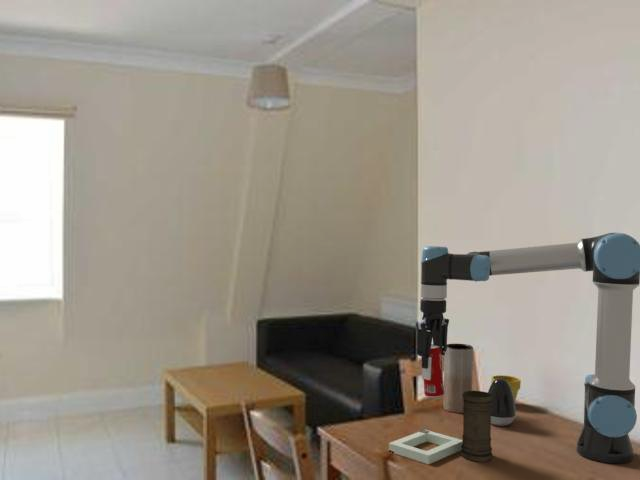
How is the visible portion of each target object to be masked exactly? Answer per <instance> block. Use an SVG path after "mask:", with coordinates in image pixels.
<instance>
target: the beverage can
mask: <svg viewBox="0 0 640 480" xmlns="http://www.w3.org/2000/svg"><path fill="white" fill-rule="evenodd" d="M429 357H431V380H427V379H422V381H423V392H424V393H423V394H424V396H425V397H426V398H431V399H432V398H434V399H436V398H440V397H442V396H444V371H443V360H442V358H443V357H441V349H440V347H439V346H434V345H433V343H432V344H431V350H430V356H429Z"/></svg>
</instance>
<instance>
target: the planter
mask: <svg viewBox="0 0 640 480" xmlns="http://www.w3.org/2000/svg"><path fill="white" fill-rule="evenodd" d="M443 358H444V359H443V386H444V394H443V402H442V403H443V404H442V405H443V406H442V407H443V410H445V411H447V412H451V413H454V414H455V413H457V414H463V413H464V409H463V407H464V401H463V399H464V398H463V393H464V392H466V391H473V374H474V372H473V371H474V370H473V369H474V368H473V366H474V346H472V345H470V344H466V343H465V344H464V343H447V350H446V352H445V355H443Z"/></svg>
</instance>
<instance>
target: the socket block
mask: <svg viewBox="0 0 640 480" xmlns="http://www.w3.org/2000/svg"><path fill="white" fill-rule="evenodd" d="M426 442H427V443H432V444H435V445H437V446H435V447H432V448H431V449H428V450H424V449H421V448H417V447H416V446H418V445H421V444H424V443H426ZM462 444H463V439H460V438H456V437H453V436H449V435H446V434H442V433H438V432H436V431H435V432H434V431H431V430H428V429H423V430H420V431H418V432H414V433H413V434H409V435H407V436H403V437H402V438H398V439H396V440H393V441H390V442H389V443H388V451H389V450H391V451H393V452H394V453H393V454H395V455H398V456H401V457H404V458H408V459H411V460H413V461H416V462H420V463H423V464H426V465H431V464H433V463H435V462H437V461H440V460H442V459H444V458H446V457H449V456H451V455H453V454H456V453H458V452H461V450H462V448H461V446H462Z"/></svg>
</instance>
